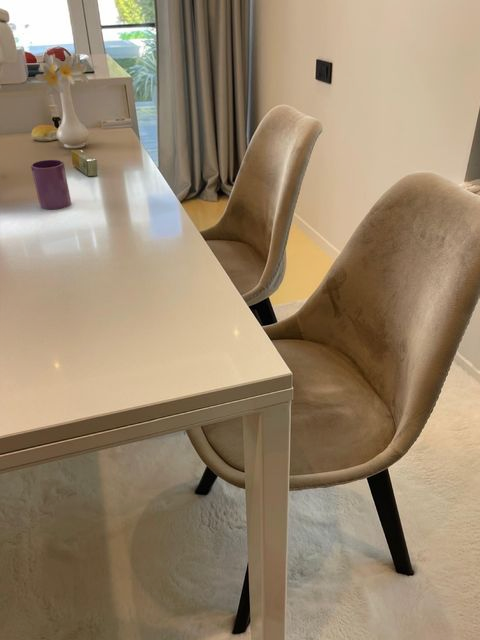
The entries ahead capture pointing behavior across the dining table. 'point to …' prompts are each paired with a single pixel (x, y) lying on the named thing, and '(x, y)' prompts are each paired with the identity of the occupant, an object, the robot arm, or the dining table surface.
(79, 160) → the medication box
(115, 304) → the dining table surface
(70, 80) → the flower vase
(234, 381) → the dining table surface
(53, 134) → the bread roll
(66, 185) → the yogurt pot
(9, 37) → the robot arm
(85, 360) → the dining table surface
